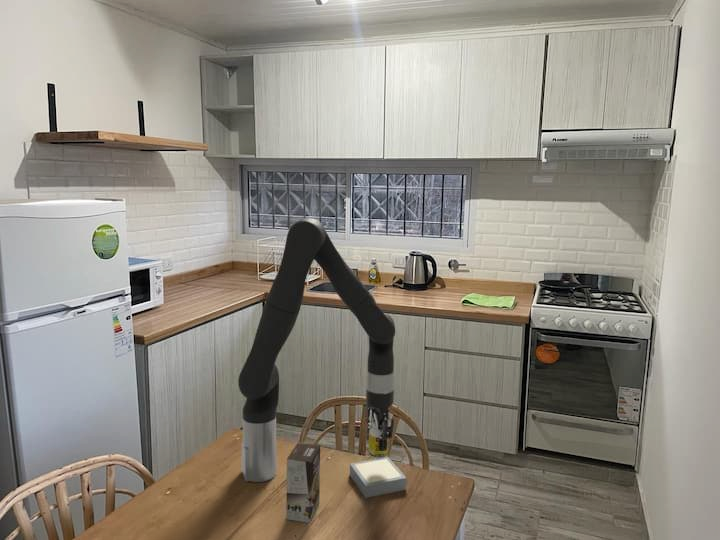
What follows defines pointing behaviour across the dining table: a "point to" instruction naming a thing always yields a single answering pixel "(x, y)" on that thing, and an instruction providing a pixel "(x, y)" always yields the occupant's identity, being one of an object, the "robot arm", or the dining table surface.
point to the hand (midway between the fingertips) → (378, 445)
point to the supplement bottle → (376, 443)
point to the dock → (377, 477)
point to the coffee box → (303, 482)
